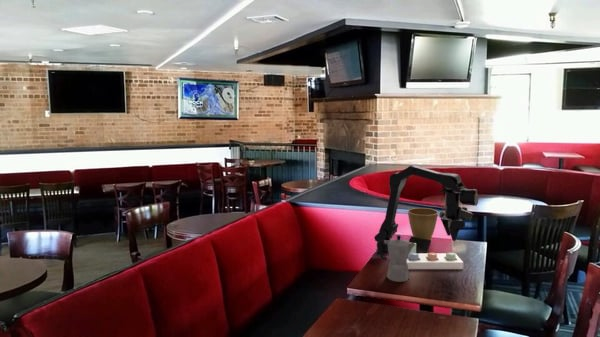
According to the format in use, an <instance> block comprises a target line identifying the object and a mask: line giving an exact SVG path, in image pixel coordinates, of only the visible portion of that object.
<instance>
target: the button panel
mask: <svg viewBox="0 0 600 337" xmlns="http://www.w3.org/2000/svg"><path fill="white" fill-rule="evenodd" d="M414 244H415V246H414V247H413V248H412V249H411V251H410V252H409V254H410V253H416V243H414ZM428 253H429V252H428ZM428 253H418V254H419V260H412V261H409V255H408V259H407V264H408V270H464V261H463V260H462V259H461V258H460V257H459V256H458V255H457V253H454V252H453V253H454V254H456V259H455V260H446V253H445V252H444V253H436V252H435V253H436V254H437V260H428Z"/></svg>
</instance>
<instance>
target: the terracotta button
mask: <svg viewBox="0 0 600 337" xmlns="http://www.w3.org/2000/svg"><path fill="white" fill-rule="evenodd" d="M428 260H437V254H436V252H428Z"/></svg>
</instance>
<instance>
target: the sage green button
mask: <svg viewBox="0 0 600 337" xmlns="http://www.w3.org/2000/svg"><path fill="white" fill-rule="evenodd" d="M456 255H457V253H456V254H454V252H447V253H446V260H455V259H456Z"/></svg>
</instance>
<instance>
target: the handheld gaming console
mask: <svg viewBox="0 0 600 337" xmlns="http://www.w3.org/2000/svg"><path fill="white" fill-rule="evenodd" d="M408 242H411V243H416V253H427V252H428V251H429V248H430V245H431V242H432V240H427V239H422V238H417V237H413V235H412V236H410V238H409V241H408ZM428 253H429V252H428Z"/></svg>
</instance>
